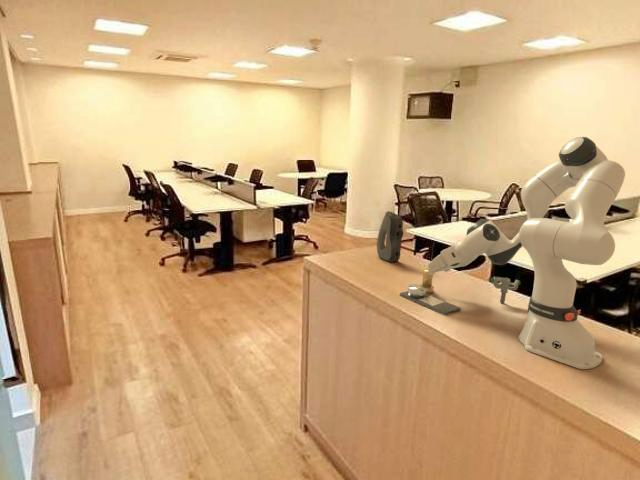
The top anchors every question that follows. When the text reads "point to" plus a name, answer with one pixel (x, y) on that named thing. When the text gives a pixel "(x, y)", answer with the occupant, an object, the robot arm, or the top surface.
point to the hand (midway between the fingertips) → (437, 271)
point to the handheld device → (390, 237)
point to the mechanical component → (504, 286)
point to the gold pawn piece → (427, 281)
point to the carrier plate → (428, 300)
